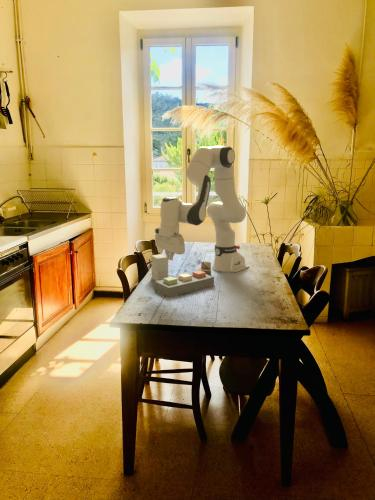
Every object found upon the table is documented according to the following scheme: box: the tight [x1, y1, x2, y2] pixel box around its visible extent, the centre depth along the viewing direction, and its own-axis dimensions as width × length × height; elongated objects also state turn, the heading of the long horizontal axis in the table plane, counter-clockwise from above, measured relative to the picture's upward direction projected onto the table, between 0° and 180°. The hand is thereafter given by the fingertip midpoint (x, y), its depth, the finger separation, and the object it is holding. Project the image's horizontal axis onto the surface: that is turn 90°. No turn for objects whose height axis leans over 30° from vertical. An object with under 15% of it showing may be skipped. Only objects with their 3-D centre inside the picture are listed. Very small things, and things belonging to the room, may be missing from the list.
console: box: [154, 272, 215, 298], centre depth 197 cm, size 28×12×4 cm, turn 127°
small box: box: [151, 253, 169, 282], centre depth 208 cm, size 8×6×13 cm
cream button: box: [178, 273, 192, 282], centre depth 196 cm, size 5×5×4 cm
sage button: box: [163, 276, 177, 285], centre depth 191 cm, size 5×5×4 cm
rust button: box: [192, 270, 206, 278], centre depth 201 cm, size 5×5×4 cm
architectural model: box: [197, 261, 212, 276], centre depth 218 cm, size 3×7×7 cm, turn 76°
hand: (169, 259), depth 188 cm, fingers closed
